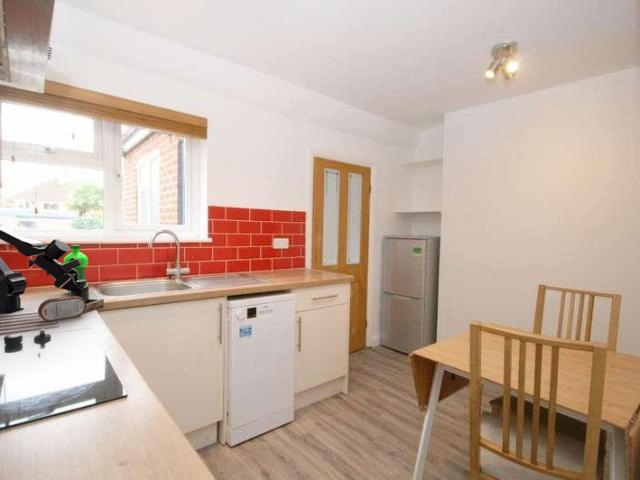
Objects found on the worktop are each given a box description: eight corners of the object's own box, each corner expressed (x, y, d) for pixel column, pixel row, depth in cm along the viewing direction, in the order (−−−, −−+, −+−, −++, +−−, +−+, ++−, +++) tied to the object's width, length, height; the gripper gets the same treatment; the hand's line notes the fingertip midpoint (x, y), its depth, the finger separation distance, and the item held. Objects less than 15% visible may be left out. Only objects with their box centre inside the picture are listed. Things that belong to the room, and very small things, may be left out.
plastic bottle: (86, 293, 172) (85, 245, 171) (61, 295, 168) (60, 246, 167) (90, 290, 181) (90, 244, 180) (67, 291, 177) (66, 244, 176)
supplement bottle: (67, 309, 141) (66, 281, 140) (74, 305, 148) (73, 279, 147) (85, 309, 143) (85, 281, 142) (92, 305, 149) (91, 278, 149)
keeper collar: (82, 313, 138) (82, 306, 138) (54, 312, 139) (54, 305, 139) (103, 305, 151) (103, 299, 150) (77, 304, 151) (77, 298, 151)
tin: (84, 314, 137) (84, 294, 137) (87, 315, 135) (87, 295, 135) (37, 322, 126) (37, 300, 125) (39, 323, 124) (39, 301, 123)
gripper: (63, 254, 133) (97, 280, 139) (71, 250, 149) (100, 273, 155) (38, 275, 130) (74, 300, 136) (49, 268, 146) (80, 291, 152)
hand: (83, 290), depth 145 cm, fingers open, 9 cm apart
